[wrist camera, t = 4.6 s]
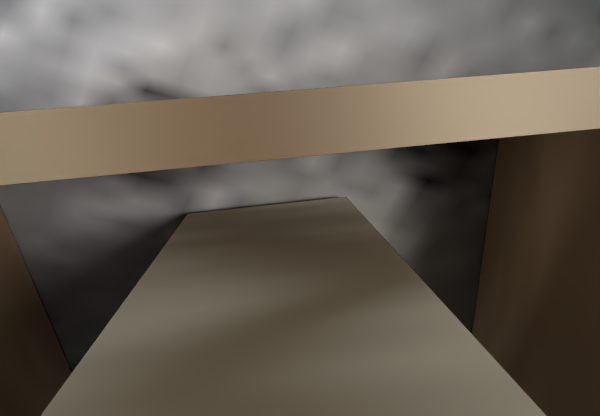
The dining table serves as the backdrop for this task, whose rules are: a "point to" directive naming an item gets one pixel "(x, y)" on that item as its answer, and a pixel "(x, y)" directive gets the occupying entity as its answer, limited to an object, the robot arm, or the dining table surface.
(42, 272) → the dining table surface
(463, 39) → the dining table surface
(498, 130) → the wooden tray
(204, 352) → the box
